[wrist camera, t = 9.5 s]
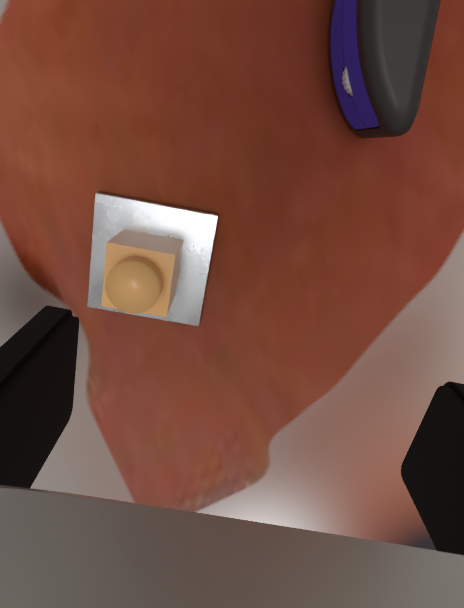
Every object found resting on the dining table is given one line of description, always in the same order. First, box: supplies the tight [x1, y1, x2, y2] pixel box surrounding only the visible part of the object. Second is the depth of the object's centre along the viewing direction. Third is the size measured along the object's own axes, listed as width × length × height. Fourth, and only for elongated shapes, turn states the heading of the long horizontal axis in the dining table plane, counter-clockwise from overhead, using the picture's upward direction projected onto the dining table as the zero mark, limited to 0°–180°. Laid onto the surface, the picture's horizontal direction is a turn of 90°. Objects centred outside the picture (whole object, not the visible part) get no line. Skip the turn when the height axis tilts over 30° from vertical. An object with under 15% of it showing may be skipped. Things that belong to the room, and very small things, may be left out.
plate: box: [88, 192, 218, 326], centre depth 35 cm, size 10×10×4 cm
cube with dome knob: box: [101, 229, 183, 317], centre depth 33 cm, size 5×5×7 cm
